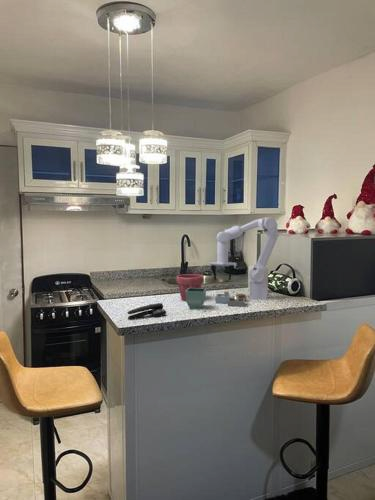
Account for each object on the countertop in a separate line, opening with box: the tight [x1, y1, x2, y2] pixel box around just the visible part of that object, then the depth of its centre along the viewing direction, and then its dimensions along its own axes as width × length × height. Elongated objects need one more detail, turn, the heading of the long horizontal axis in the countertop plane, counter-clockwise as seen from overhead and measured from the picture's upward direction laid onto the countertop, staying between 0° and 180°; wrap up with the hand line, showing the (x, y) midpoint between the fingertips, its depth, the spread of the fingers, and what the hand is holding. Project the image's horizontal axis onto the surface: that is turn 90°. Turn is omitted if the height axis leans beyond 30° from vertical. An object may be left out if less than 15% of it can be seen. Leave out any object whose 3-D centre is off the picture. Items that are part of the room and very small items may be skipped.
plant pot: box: [176, 273, 204, 302], centre depth 208 cm, size 14×14×13 cm
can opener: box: [127, 302, 167, 320], centre depth 173 cm, size 18×7×6 cm, turn 120°
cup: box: [215, 293, 231, 305], centre depth 200 cm, size 7×7×4 cm
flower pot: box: [185, 287, 207, 310], centre depth 189 cm, size 9×9×9 cm
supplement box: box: [247, 265, 269, 294], centre depth 229 cm, size 9×9×15 cm
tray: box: [227, 297, 246, 308], centre depth 194 cm, size 8×8×3 cm
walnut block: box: [235, 293, 247, 303], centre depth 202 cm, size 4×4×4 cm
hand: (222, 279), depth 209 cm, fingers open, 7 cm apart
